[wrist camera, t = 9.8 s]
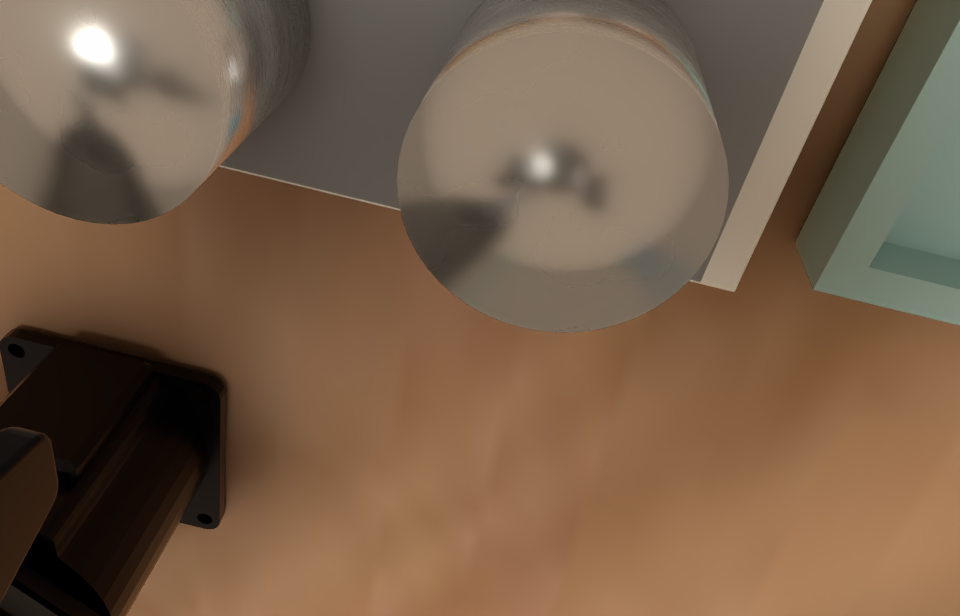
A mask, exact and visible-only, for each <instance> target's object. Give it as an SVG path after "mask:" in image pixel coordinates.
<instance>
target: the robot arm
mask: <svg viewBox="0 0 960 616" xmlns="http://www.w3.org/2000/svg"><path fill="white" fill-rule="evenodd" d="M0 351H1V356H2V361H3V366H4V371H5V376H6V381H7V385H8V390H9V395H8V396H7V397H6V398H5V399H4V400H3V401H2V402H1V403H0V616H126V615H127V614H128V612H129V610H130V608H131V606H132V605H133V603H134V601H135V599H136V598H137V596H138V594H139V592H140V591H141V589H142V587H143V585H144V584H145V582H146V580H147V578H148V577H149V575H150V573H151V571H152V570H153V568H154V566H155V564H156V562H157V561H158V559H159V557H160V555H161V554H162V552H163V550H164V548H165V547H166V545H167V543H168V541H169V540H170V538H171V536H172V534H173V533H174V531H175V529H176V527H177V525H178V524H179V522H180V523H184V524H188V525H192V526H196V527H200V528H204V529H214V528H216V527H218V526H219V524H220V522H221V520H222V518H223V516H224V508H225V430H226V389H225V386H224V384H223V383H222V382H221V381H220V380H219V379H218V378H216V377H215V376H212V375H209V374H206V373H201V372H197V371H193V370H189V369H185V368H181V367H177V366H173V365H168V364H164V363H160V362H156V361H152V360H148V359H144V358H140V357H135V356H131V355H127V354H123V353H119V352H115V351H111V350H107V349H102V348H98V347H94V346H90V345H86V344H82V343H78V342H74V341H70V340H65V339H61V338H57V337H53V336H49V335H45V334H41V333H37V332H32V331H28V330H24V329H14V330H11V331H10V332H9V333H8V334H7V335H6V336H5V337H4V338H3V339H2V340H1V341H0ZM204 390H206V391H208V392H209V393H210V394H209V393H206V392H205V391H204Z"/></svg>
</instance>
